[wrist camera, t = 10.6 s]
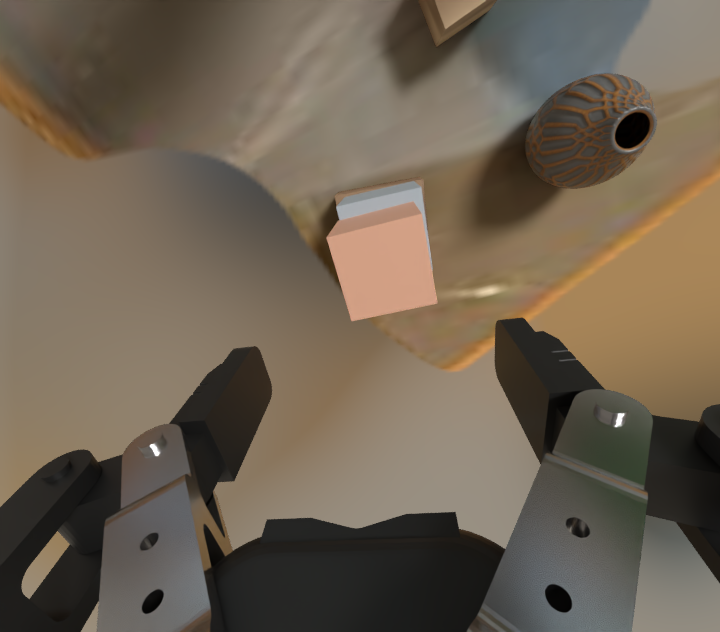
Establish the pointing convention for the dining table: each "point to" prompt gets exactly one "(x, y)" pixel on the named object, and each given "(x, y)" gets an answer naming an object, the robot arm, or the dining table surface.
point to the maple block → (451, 16)
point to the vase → (590, 131)
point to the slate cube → (383, 202)
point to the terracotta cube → (383, 261)
